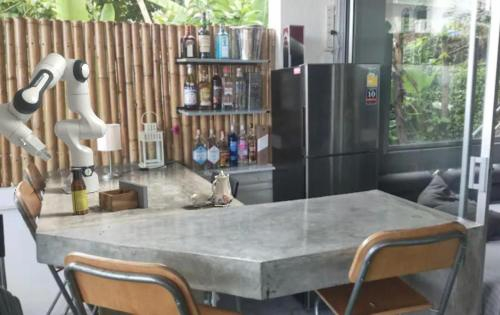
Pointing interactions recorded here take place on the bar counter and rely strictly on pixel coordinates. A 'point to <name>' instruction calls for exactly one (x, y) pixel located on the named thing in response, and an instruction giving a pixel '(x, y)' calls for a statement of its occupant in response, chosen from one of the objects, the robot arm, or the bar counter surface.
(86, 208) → the sauce bottle
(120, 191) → the wooden box
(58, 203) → the bar counter surface
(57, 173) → the bar counter surface
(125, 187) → the backstop wall
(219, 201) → the chinaware
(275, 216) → the bar counter surface
